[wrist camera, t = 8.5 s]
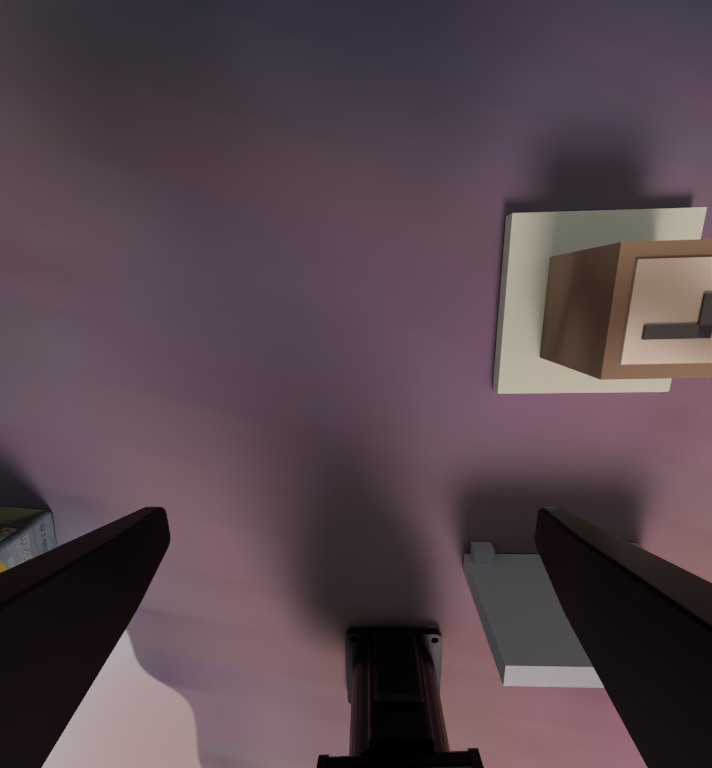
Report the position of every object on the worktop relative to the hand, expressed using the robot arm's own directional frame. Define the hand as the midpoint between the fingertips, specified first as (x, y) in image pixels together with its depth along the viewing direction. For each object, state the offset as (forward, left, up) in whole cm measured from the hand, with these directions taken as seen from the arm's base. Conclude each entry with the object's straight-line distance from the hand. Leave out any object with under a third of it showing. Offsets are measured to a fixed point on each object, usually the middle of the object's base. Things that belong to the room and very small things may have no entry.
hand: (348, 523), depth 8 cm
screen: (-12, -12, -12) cm, 20 cm away
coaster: (+4, -12, -12) cm, 18 cm away
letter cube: (+4, -12, -11) cm, 17 cm away
